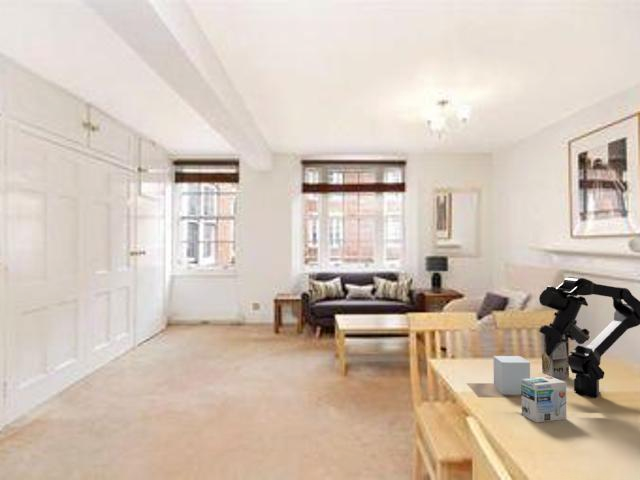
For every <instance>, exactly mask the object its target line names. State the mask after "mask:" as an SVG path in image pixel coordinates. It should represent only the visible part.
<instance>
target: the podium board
mask: <svg viewBox="0 0 640 480" xmlns="http://www.w3.org/2000/svg"><path fill="white" fill-rule="evenodd" d="M466 385H467V386H468V387H469V389H471V390H472V392H473V393H474V394H475V396H477V397H478V398H511V399H512V398H516V399H517V398H519V399H522V395H505V394H501V393H500V392H499V391H498V390H497V389H496V388H495V387H494V382H491V383H486V382H485V383H482V382H480V383H479V382H478V383H477V382H474V383H473V382H472V383H471V382H466Z"/></svg>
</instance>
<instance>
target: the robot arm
mask: <svg viewBox="0 0 640 480" xmlns="http://www.w3.org/2000/svg"><path fill="white" fill-rule="evenodd" d="M592 295H595V296H601V297H608V298H611V299H612V300H613V302H612V306H613V308H614V309H615V311H614V315H613V320H611V322H610V323H609V324H608V325H607V326H606V327H605V328H604V329H603V330H602V331H601V332H599V333H598V335H597V336H596V337H595V338H594V339H593V340H592V341H591V342H590V343H589V344H588V345H586V346H582V345H583V344H584V343H585V342H587V341H589V339H590V331H589V330H588V329H587V328H581V327H579V326H577V324H578V321H577V319H576V318H577V316H578V314H579V313H580V310H581V308H582V306H586V307H588V306H589V304H588V302H587V300H586V297H584V296H592ZM538 300H539V303H540V304H541V306H543V307H546V308H550V309H553V310H556V311H555V312H554V314H553V316H554V318H553V320H552V323H551V322H550V324H544V325H541V326H540V328H539V330H538V332H539V333H543V334H545V339H546V354H547V355H548V356H551V355H552V354H553V352H554V351H555V350H556V349H557V348H558V347H559V345H560V344H562V343H565V342H569V340H568V341H567V340H565V337H564V336H566V337H568V339H570V341H575V342H576V343H577V344H578V345H577V346H576V347H575V348H574V349H573V350H572V351H570V352H569V357H568V364H569V369H570V371H571V374H574V375H575V378H574V379H573V391H574V394H576V395H578V396H581V397H586V398H587V397H588V398H592V399H597V398H598V397H599V396H600V395H601V392H600V380H602V379H604V377H605V371H604V370H603V369H602V368H601V367H600V365H601V361H602V360H601V359H602V356H603V355H604V354H605V353H606V352H607V351H608V350H609V349H610V348H611V347H612V346H613V345H614V343H616V341H618V340H619V339H620V338H621V336H623V335H624V334H625V333H626V331H628V330H629V329H633V328H635V327H639V326H640V300H639V299H637V297H635V296H634V295H633V294H632V293H631V291H630V290H629V289H628V288H626V287H618V286H612V285H606V284H605V285H604V284H599V283H596V282H593V281H592V280H590V279H588V278H587V279H586V278H584V277H575V276H567V277H565V278H564V280H563V282H562V283H561V284H559V285H558V286H557V287H554V286H552V285H547V286H546V289H544V290H543V291H541V294H540V295H539V299H538Z"/></svg>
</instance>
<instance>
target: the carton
mask: <svg viewBox="0 0 640 480" xmlns="http://www.w3.org/2000/svg"><path fill="white" fill-rule="evenodd" d="M492 357H493V383H494V387H495V388H496V389H497V390H498V391H499V392H500V393H501V394H505V395H521V394H522V393H521V379H527V378H531V361H528V360H527V359H525V358H523V356H521V355H493V356H492Z"/></svg>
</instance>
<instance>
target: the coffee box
mask: <svg viewBox="0 0 640 480" xmlns="http://www.w3.org/2000/svg"><path fill="white" fill-rule="evenodd" d="M540 333H541V332H540ZM540 337H541V367H542V368H541V369H542V371H541V372H542V374H545V375H547V376H551V377H553V378H556V379H559V380H562V379H563V380H564V379H567V380H569V378H570V366H569V364H568V357H569V356H570V352H569V351H570V348H569V338H568V337H566V336H564V337H565V340H567V341H568V342H565V343H562V344H560V345H559V347H558V348H557V349H556V350H555V351H554V352H553V354H552V355H551V356H548V355H547V354H546V339H545V334H543V333H541V336H540Z"/></svg>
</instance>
